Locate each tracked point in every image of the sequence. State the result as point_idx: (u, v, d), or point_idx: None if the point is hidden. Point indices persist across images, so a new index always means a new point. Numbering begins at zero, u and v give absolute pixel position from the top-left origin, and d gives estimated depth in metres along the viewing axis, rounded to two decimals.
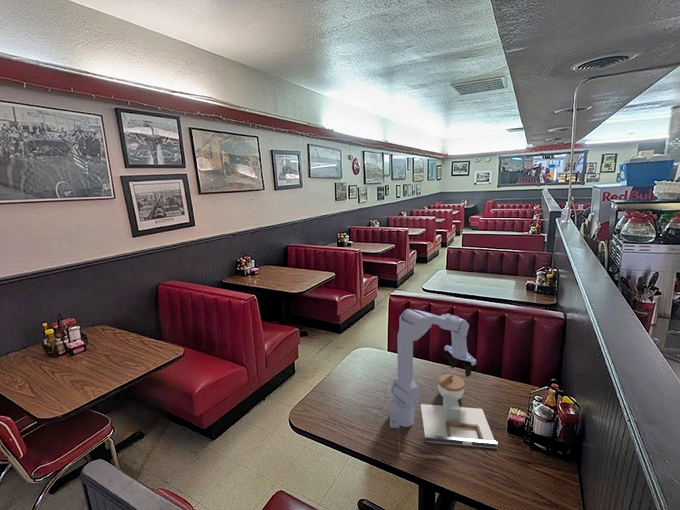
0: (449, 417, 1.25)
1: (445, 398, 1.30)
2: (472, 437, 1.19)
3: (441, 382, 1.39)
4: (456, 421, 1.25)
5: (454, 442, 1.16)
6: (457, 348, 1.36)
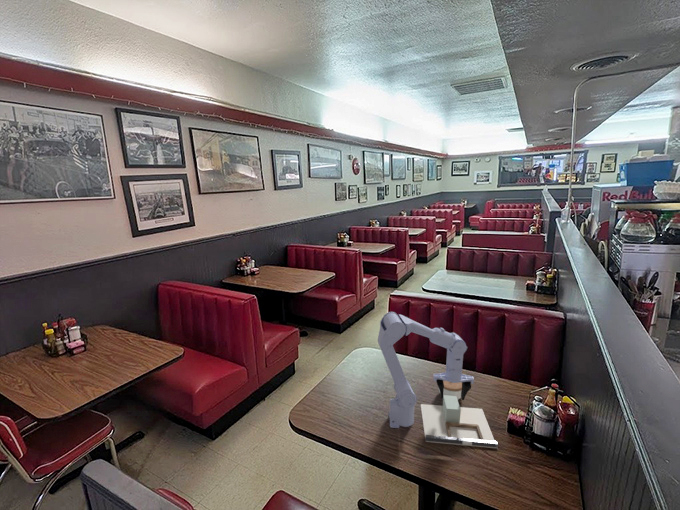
0: (449, 417, 1.25)
1: (445, 398, 1.30)
2: (472, 437, 1.19)
3: None
4: (456, 421, 1.25)
5: (454, 442, 1.16)
6: (458, 370, 1.22)
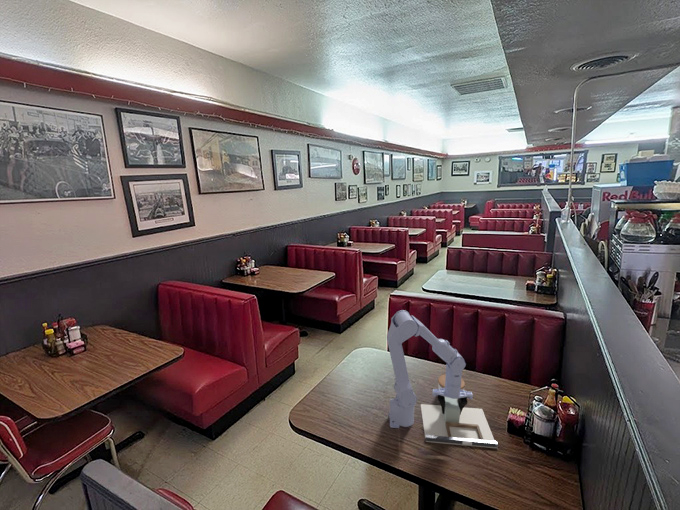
0: (449, 417, 1.26)
1: (445, 398, 1.31)
2: (472, 437, 1.19)
3: (441, 382, 1.39)
4: (456, 421, 1.25)
5: (454, 442, 1.16)
6: (457, 386, 1.24)
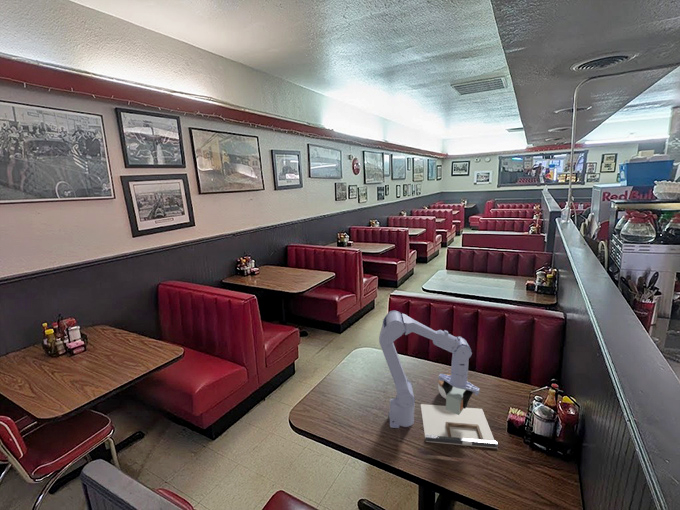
0: (449, 405, 1.22)
1: (454, 387, 1.26)
2: (472, 437, 1.19)
3: (441, 382, 1.39)
4: (455, 411, 1.21)
5: (454, 442, 1.16)
6: (459, 376, 1.18)
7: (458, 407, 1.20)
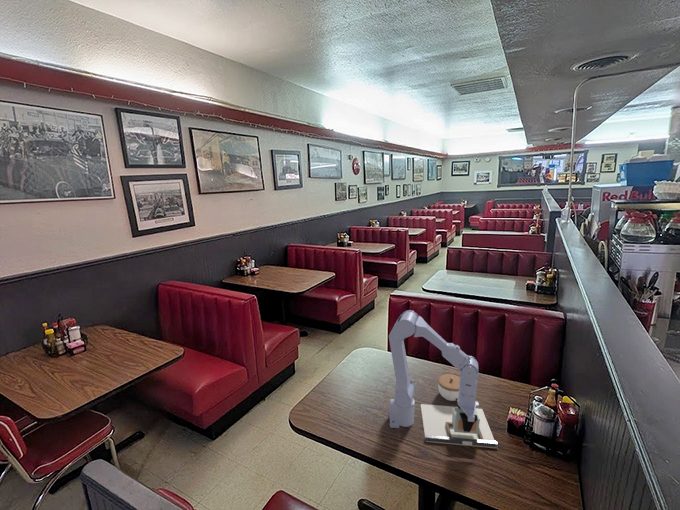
0: (453, 419, 1.21)
1: None
2: (472, 437, 1.19)
3: (441, 382, 1.39)
4: (454, 427, 1.19)
5: (454, 442, 1.16)
6: (460, 393, 1.15)
7: (455, 424, 1.17)
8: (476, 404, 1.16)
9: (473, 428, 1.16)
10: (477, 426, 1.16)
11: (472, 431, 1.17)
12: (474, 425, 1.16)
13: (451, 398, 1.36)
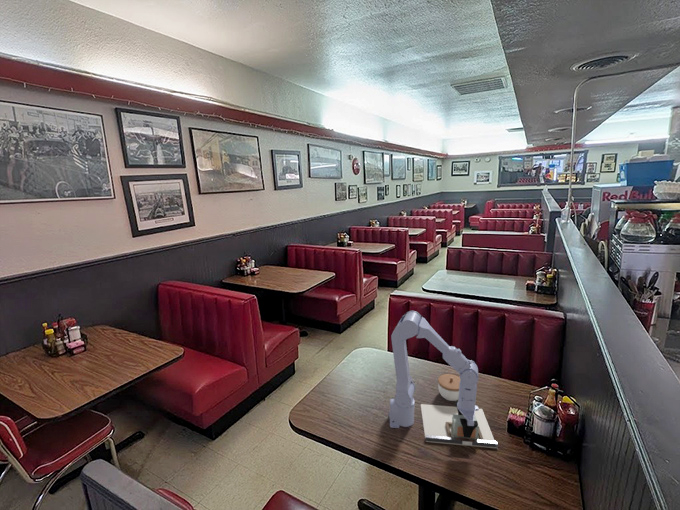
0: (452, 425, 1.21)
1: None
2: None
3: (441, 382, 1.39)
4: (453, 434, 1.19)
5: (454, 442, 1.16)
6: (460, 397, 1.16)
7: (454, 430, 1.18)
8: (476, 408, 1.16)
9: (472, 435, 1.17)
10: (476, 433, 1.17)
11: (471, 438, 1.17)
12: (473, 432, 1.16)
13: (451, 398, 1.36)
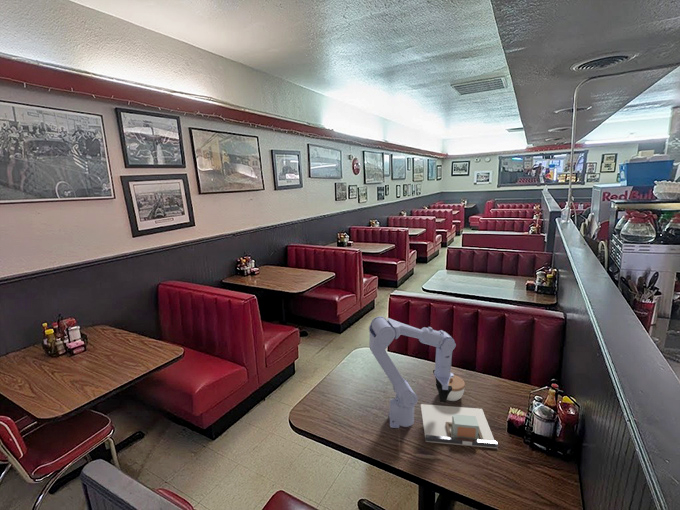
0: (452, 425, 1.21)
1: (470, 416, 1.20)
2: None
3: None
4: (453, 434, 1.19)
5: (454, 442, 1.16)
6: (436, 365, 1.25)
7: (454, 430, 1.18)
8: (451, 375, 1.25)
9: (472, 435, 1.17)
10: (476, 433, 1.17)
11: (471, 438, 1.17)
12: (473, 432, 1.16)
13: (451, 398, 1.36)
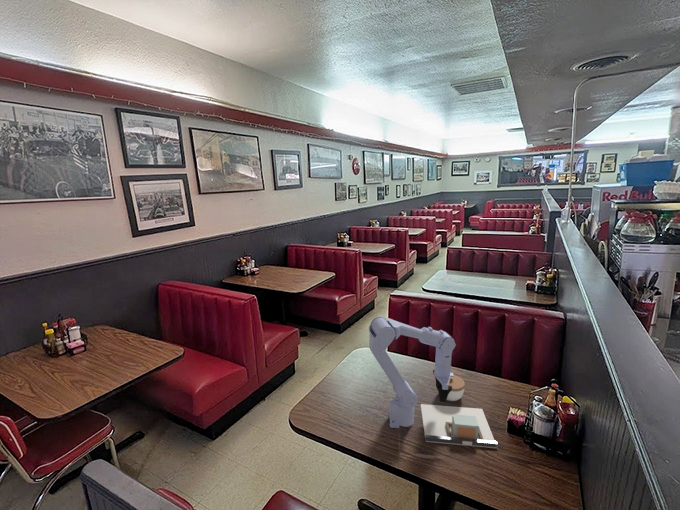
0: (452, 425, 1.21)
1: (470, 416, 1.20)
2: None
3: None
4: (453, 434, 1.19)
5: (454, 442, 1.16)
6: (436, 365, 1.25)
7: (454, 430, 1.18)
8: (451, 375, 1.26)
9: (472, 435, 1.17)
10: (476, 433, 1.17)
11: (471, 438, 1.17)
12: (473, 432, 1.16)
13: (451, 398, 1.36)
